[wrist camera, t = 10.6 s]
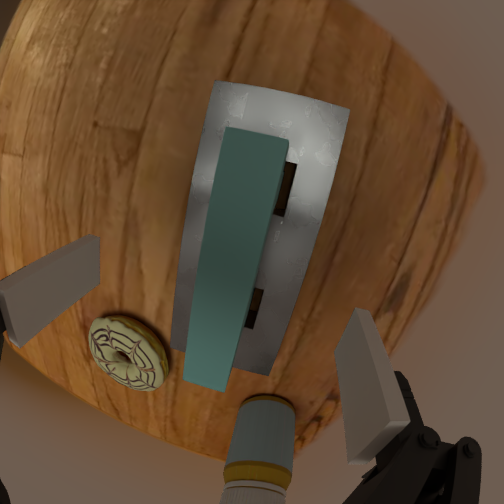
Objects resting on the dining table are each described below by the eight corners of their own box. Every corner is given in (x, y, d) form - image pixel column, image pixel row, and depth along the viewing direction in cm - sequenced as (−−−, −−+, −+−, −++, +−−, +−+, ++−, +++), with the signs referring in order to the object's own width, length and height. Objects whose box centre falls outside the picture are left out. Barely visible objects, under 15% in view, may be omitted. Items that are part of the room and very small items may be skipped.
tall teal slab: (253, 141, 21) (225, 126, 12) (289, 150, 21) (288, 139, 12) (217, 310, 27) (182, 379, 17) (246, 318, 27) (224, 392, 17)
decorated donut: (90, 303, 30) (72, 318, 26) (163, 312, 28) (147, 331, 25) (112, 368, 33) (99, 384, 29) (180, 382, 31) (169, 403, 28)
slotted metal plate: (224, 89, 20) (214, 80, 17) (342, 116, 20) (350, 109, 17) (180, 331, 28) (170, 347, 25) (271, 357, 28) (268, 376, 25)
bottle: (306, 405, 30) (303, 514, 15) (275, 430, 32) (262, 525, 18) (258, 384, 29) (234, 499, 15) (230, 412, 32) (202, 509, 18)
